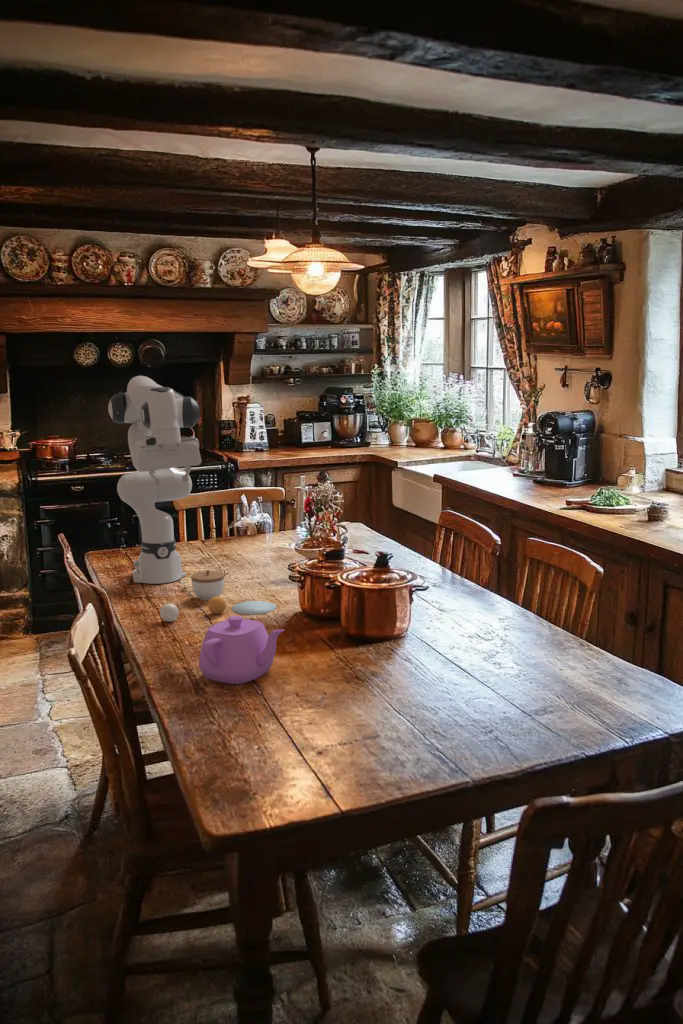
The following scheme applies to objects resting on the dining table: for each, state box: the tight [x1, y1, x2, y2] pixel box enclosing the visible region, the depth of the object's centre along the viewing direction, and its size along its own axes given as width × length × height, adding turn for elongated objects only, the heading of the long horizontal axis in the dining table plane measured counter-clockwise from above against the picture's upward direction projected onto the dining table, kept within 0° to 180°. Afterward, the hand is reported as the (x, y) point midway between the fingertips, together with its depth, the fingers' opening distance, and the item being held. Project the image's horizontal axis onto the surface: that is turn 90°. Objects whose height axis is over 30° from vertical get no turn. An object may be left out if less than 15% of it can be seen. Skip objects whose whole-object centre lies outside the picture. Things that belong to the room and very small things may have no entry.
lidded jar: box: [191, 569, 225, 601], centre depth 282 cm, size 11×11×9 cm
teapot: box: [198, 615, 286, 685], centre depth 211 cm, size 23×21×15 cm
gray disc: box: [231, 600, 277, 616], centre depth 271 cm, size 14×14×1 cm
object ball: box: [207, 595, 227, 615], centre depth 265 cm, size 6×6×6 cm
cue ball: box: [159, 602, 180, 623], centre depth 258 cm, size 6×6×6 cm
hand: (171, 482), depth 270 cm, fingers open, 8 cm apart
